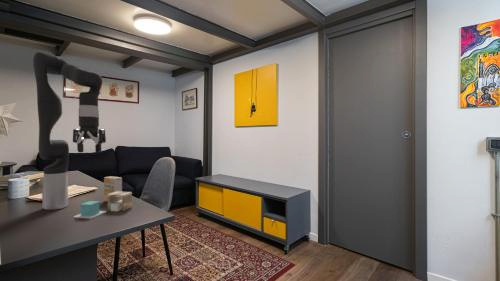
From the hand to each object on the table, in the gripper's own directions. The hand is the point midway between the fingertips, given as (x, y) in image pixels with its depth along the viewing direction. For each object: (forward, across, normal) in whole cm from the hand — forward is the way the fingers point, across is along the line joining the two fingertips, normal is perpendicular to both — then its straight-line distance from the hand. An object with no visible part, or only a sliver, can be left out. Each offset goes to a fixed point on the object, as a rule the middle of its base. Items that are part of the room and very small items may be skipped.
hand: (89, 152), depth 109 cm
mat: (+28, 0, 0) cm, 28 cm away
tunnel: (+28, +7, +10) cm, 31 cm away
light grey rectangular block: (+28, +7, +11) cm, 31 cm away
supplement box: (+28, -5, +22) cm, 36 cm away
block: (+28, 0, 0) cm, 28 cm away
